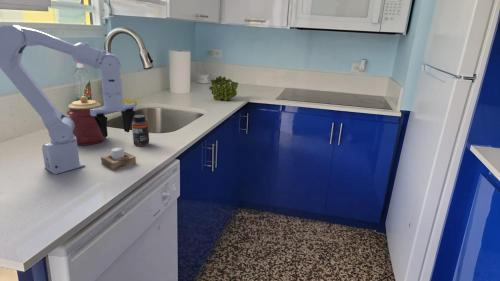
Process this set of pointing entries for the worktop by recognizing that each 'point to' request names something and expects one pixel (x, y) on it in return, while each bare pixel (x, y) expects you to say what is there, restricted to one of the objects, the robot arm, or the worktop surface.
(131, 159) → the socket block
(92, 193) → the worktop surface
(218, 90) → the green broccoli head
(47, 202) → the worktop surface
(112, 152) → the plug
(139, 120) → the supplement bottle
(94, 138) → the canister
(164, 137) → the worktop surface
